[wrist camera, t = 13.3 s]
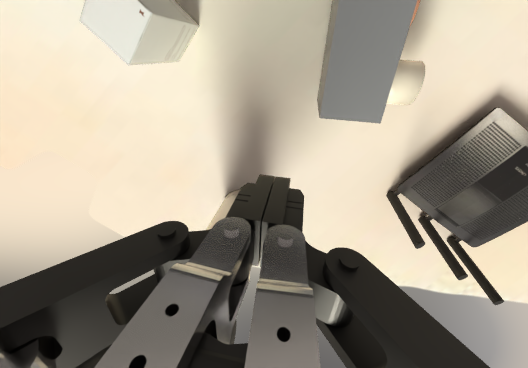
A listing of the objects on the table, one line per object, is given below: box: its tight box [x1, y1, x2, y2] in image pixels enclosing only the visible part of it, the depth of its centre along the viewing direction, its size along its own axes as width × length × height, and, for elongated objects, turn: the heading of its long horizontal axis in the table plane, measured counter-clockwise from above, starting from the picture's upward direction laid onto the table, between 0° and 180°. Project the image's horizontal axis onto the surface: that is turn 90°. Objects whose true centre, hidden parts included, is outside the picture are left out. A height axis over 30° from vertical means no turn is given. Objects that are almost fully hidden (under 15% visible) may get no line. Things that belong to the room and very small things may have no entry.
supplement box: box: [80, 0, 199, 65], centre depth 32 cm, size 7×7×13 cm
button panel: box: [317, 0, 417, 123], centre depth 27 cm, size 7×23×13 cm, turn 177°
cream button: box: [386, 60, 425, 105], centre depth 29 cm, size 5×5×5 cm
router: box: [386, 108, 528, 305], centre depth 35 cm, size 21×20×15 cm
